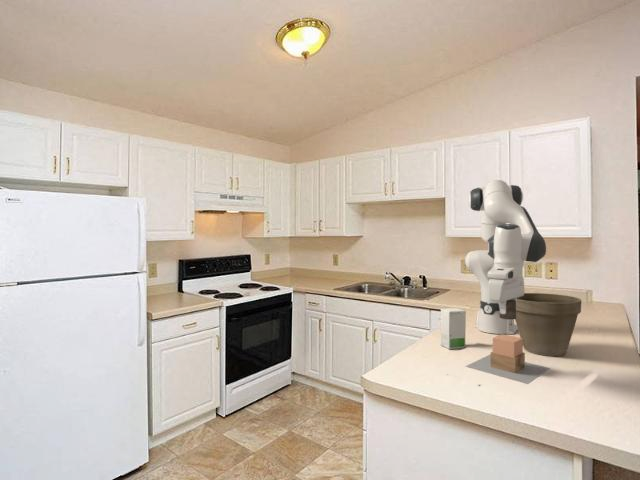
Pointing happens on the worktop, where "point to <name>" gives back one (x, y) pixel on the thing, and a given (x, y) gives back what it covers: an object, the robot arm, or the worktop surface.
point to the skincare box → (453, 328)
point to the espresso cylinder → (510, 310)
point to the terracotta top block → (508, 345)
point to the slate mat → (522, 376)
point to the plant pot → (546, 322)
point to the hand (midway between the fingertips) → (507, 312)
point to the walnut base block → (508, 362)
